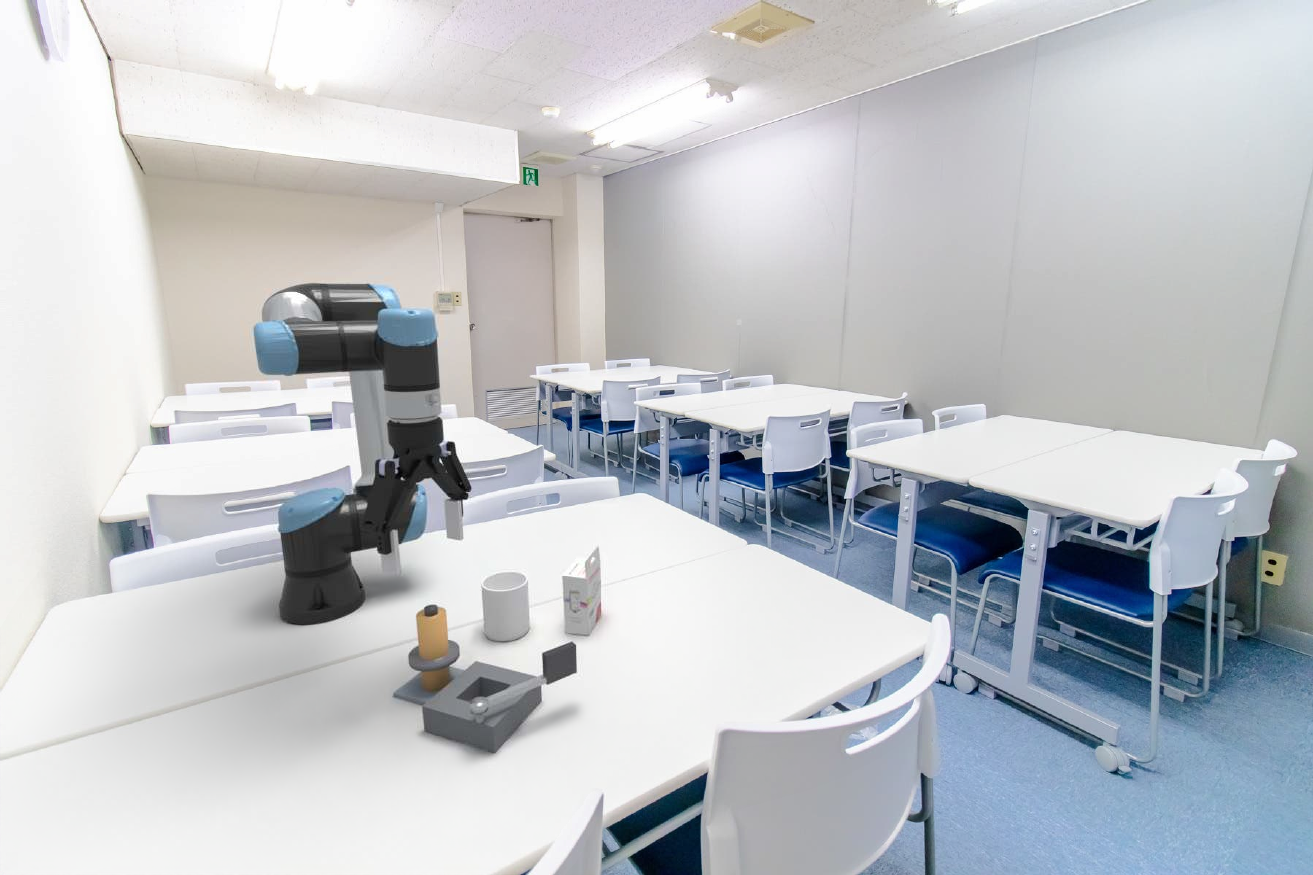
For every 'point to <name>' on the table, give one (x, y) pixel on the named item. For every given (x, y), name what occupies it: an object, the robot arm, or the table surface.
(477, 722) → the socket block
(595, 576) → the ink cartridge box
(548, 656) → the grey lever
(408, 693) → the mat
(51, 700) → the table surface
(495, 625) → the cup
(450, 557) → the table surface
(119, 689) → the table surface
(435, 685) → the plug
